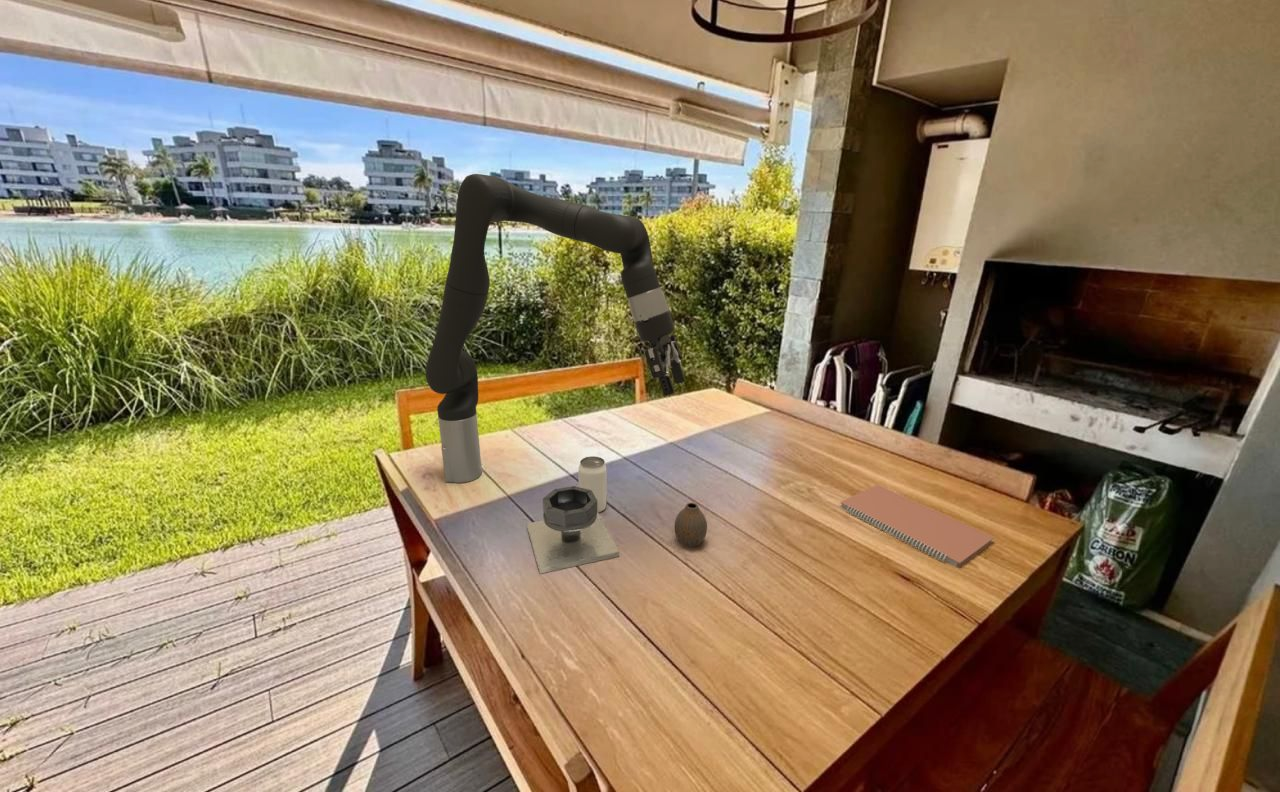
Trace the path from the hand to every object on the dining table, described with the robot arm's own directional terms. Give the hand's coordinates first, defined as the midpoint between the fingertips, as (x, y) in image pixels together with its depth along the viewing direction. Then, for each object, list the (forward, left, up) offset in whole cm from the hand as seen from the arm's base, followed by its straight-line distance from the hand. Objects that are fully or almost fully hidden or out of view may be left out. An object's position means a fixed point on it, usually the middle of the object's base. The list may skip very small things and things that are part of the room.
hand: (675, 388), depth 104 cm
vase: (0, -10, -32) cm, 33 cm away
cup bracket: (-24, -2, -31) cm, 39 cm away
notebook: (+51, -21, -32) cm, 64 cm away
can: (-16, +10, -32) cm, 37 cm away
